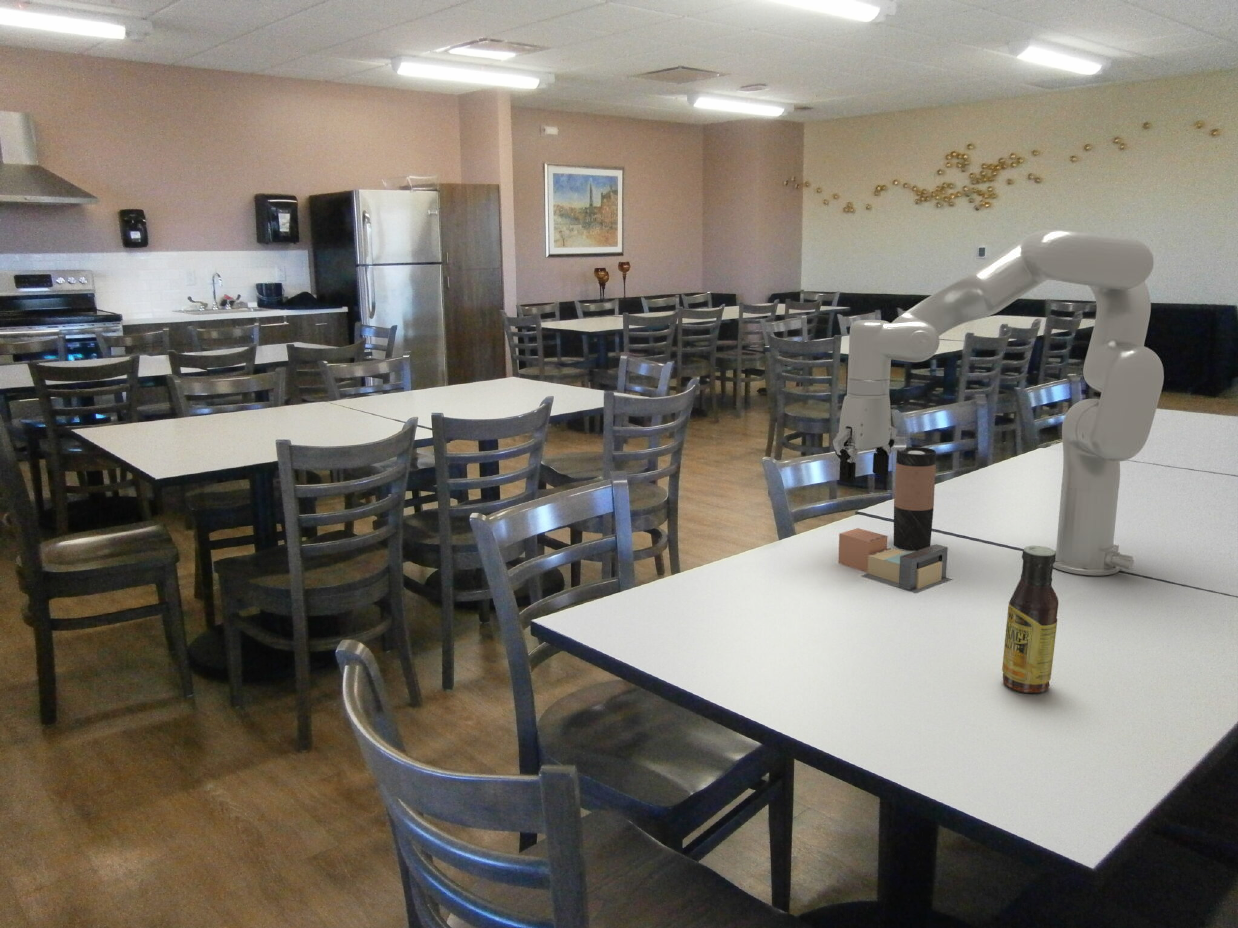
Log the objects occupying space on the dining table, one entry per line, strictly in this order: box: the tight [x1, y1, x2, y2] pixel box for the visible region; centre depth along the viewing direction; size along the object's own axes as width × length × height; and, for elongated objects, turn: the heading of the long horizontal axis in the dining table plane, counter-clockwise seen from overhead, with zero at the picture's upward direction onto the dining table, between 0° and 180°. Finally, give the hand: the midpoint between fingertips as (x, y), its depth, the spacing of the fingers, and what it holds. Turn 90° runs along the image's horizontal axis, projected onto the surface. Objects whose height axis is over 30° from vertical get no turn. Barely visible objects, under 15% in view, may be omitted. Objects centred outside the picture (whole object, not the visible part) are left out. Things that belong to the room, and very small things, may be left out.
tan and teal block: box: [867, 547, 942, 589], centre depth 173 cm, size 11×7×4 cm, turn 37°
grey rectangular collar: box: [898, 544, 949, 592], centre depth 170 cm, size 2×11×6 cm, turn 128°
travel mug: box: [893, 446, 937, 552], centre depth 189 cm, size 8×8×20 cm
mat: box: [861, 572, 953, 594], centre depth 173 cm, size 12×11×1 cm
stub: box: [838, 527, 889, 573], centre depth 180 cm, size 7×6×6 cm
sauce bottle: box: [1001, 545, 1059, 694], centre depth 128 cm, size 6×6×20 cm
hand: (863, 478), depth 177 cm, fingers open, 9 cm apart
